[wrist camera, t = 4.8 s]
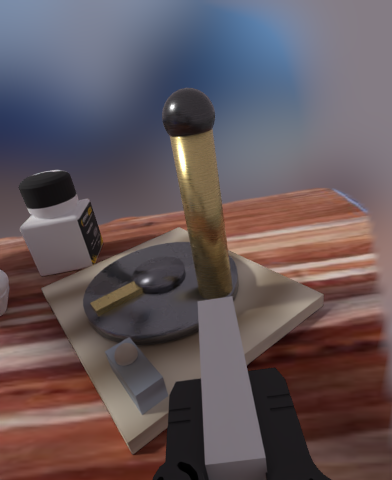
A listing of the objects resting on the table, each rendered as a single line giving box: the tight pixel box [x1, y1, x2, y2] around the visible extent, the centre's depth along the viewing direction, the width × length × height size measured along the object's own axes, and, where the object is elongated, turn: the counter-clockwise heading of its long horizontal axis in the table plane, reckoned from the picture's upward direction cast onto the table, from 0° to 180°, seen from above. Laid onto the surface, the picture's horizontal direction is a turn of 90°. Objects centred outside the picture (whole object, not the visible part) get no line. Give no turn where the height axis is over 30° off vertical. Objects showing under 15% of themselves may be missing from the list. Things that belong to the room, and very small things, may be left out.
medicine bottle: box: [19, 170, 103, 276], centre depth 42 cm, size 7×7×12 cm
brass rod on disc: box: [83, 88, 239, 345], centre depth 28 cm, size 15×15×18 cm
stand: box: [41, 227, 324, 455], centre depth 32 cm, size 23×19×4 cm
